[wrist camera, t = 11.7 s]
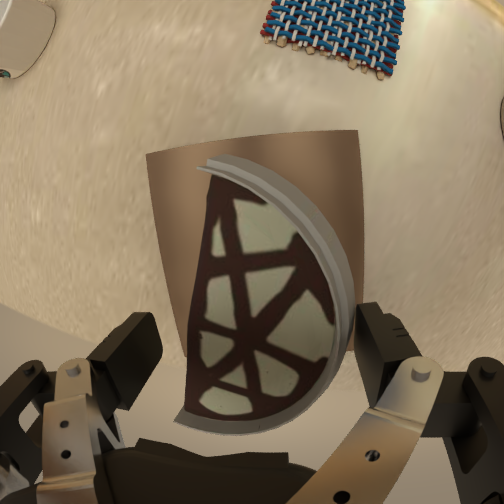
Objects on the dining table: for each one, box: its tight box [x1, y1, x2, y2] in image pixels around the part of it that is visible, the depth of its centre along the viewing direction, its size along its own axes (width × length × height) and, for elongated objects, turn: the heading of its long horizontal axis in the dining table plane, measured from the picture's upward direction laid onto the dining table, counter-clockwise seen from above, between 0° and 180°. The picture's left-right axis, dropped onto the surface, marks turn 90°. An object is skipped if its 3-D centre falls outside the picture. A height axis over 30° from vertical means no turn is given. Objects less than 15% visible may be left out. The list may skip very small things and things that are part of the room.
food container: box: [173, 154, 356, 436], centre depth 14 cm, size 12×6×10 cm, turn 169°
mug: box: [0, 0, 55, 78], centre depth 14 cm, size 13×10×8 cm
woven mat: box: [260, 0, 406, 79], centre depth 15 cm, size 10×11×2 cm
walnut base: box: [146, 130, 364, 357], centre depth 20 cm, size 14×16×3 cm
